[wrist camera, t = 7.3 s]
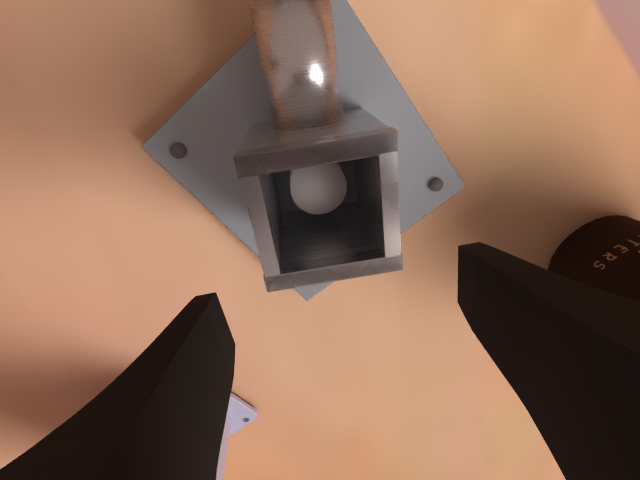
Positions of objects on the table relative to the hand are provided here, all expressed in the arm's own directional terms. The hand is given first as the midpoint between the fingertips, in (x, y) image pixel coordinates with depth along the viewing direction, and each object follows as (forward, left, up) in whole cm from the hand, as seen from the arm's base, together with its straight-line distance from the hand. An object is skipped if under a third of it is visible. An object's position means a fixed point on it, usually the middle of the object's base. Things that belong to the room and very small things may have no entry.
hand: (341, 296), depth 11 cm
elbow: (+2, +3, -9) cm, 10 cm away
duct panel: (+1, +1, -10) cm, 10 cm away
